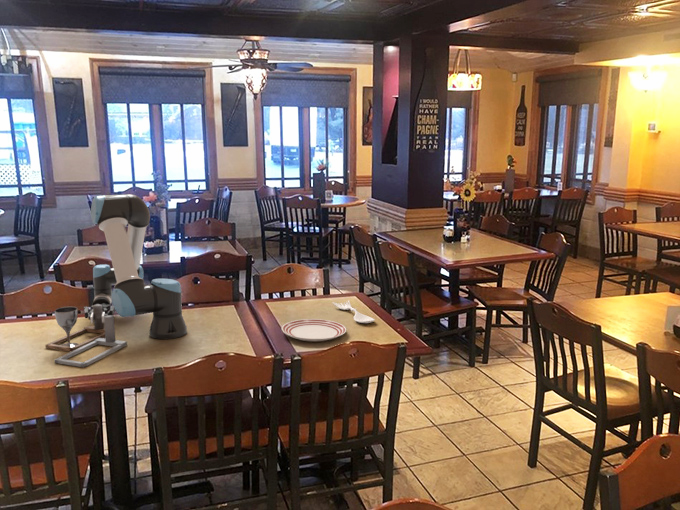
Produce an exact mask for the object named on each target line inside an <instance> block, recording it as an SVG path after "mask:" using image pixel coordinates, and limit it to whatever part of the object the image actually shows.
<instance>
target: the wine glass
mask: <svg viewBox="0 0 680 510" xmlns="http://www.w3.org/2000/svg"><path fill="white" fill-rule="evenodd" d="M54 316H55V321H56V323H57V325H58V326H59V327H60V328H62V329H63V330H64V331H65V332H64V333H66V336H67V340H66V341H67V342H66V343H65V342H64V343H61V345H62V346H68V347H74V346H76V345H78V344H79V343H78V342H71V341H70V340H71V339H70V334H71V330H72V329H73V327H74V326H75V325H76V324H77V321H78V307H76V306H69V305H68V306H61V307H58V308H56V309H54Z"/></svg>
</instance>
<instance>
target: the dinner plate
mask: <svg viewBox="0 0 680 510" xmlns="http://www.w3.org/2000/svg"><path fill="white" fill-rule="evenodd" d="M281 331H282V332H283V333H284V334H285V335H286V336H288V337H291V338H293V339H297V340H299V341H302V342H303V341H304V342H312V343H313V342H315V343H317V342H325V341H329V340H334V339H336V338H338V337H341V336H343V335H344V334H346V332H347V328H346V326H345V325H343V324H341V323H340V322H337V321H333V320H329V319H320V318H303V319H302V318H301V319H296V320H295V319H294V320H292V321H288V322H286V323H284V324H283V325H282V326H281Z"/></svg>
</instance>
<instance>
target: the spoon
mask: <svg viewBox="0 0 680 510" xmlns="http://www.w3.org/2000/svg"><path fill="white" fill-rule="evenodd" d="M332 304H333V305H334V306H335V307H337V308H339V309H340V310H344V311H349V310H350V311H351V312H354V313H355V314H354V316H353V320H354V321H355V322H356V323H359V324H369V323H373V322H375V318H373V317H371V316H368V315H366V314H363V313H360V312H359V311H358V309H357V308H354V307H352V304H351V302H350V300H347V301H345V302H340V303H339V302H333V301H332Z"/></svg>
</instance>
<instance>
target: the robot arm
mask: <svg viewBox="0 0 680 510" xmlns="http://www.w3.org/2000/svg"><path fill="white" fill-rule="evenodd" d="M150 213H151V212H150V210H149V207H148V205H147V203H146V201H144V199H142V197H139V196H138V195H136V194H133V193H132V194H131V193H130V194H129V193H128V194H127V193H125V194H111V195H107V194H103V195H97V196H94V197H93V199H92V202H91V208H90V217H91V222H92V224H94V225H98V229H99V230H100V231H102V232H103V233H104V236H105V241H106V245H107V249H108V253H109V256H110V260H111V264H112V268H111V266H110V264H106V263H105V264H97V265H94V266H93V268H92V278H93V280H92V281H93V288H94V289H93V292H94V293H93V294H94V298H93V301H92V305H91V306H83V311H84V318H85V319H88V320H89V321H90V324H94V315H93V305H96V304H101V305H102V311H103V313H102V323H103V324H104V317H105V316H108V315H112V316H114V313H115V312H116V314H118V315H119V316H120V317H121V318H127V317H128V318H129V317H130V318H131V317H135V316H139V315H146V314H151V313H152V319H151V323H150V326H149V337H151V338H153V339H158V340H171V339H172V340H173V339H177V338H180V337H183V336H185V335H187V332H188V331H187V330H188V327H187V324H186V322H185V319H184V316H183V307H182V306H183V303H182V301H183V300H182V286H181V282H180V281H178V280H176V279H172V278H171V279H170V278H154V279H151V281H150V284H145V280H144V268H143V267H142V265H140V264H141V260H142V259H141V258H142V254H143V253H142V252H143V248H144V241H145V236H146V229H147V227H148V226H149V225H150V221H151V214H150ZM126 227H127V229H126ZM112 285H114V287H112ZM112 288H114V289H113V290H112ZM111 304H112V305H111Z"/></svg>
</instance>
